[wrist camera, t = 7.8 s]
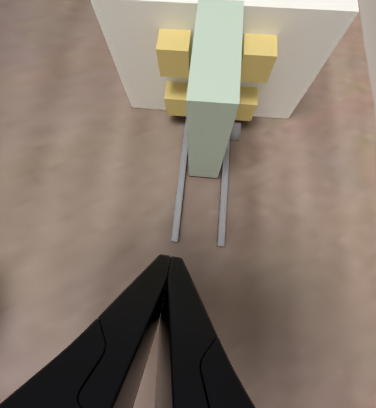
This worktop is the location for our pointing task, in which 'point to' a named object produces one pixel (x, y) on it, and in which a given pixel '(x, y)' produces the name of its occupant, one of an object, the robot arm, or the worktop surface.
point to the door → (214, 84)
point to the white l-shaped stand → (250, 62)
